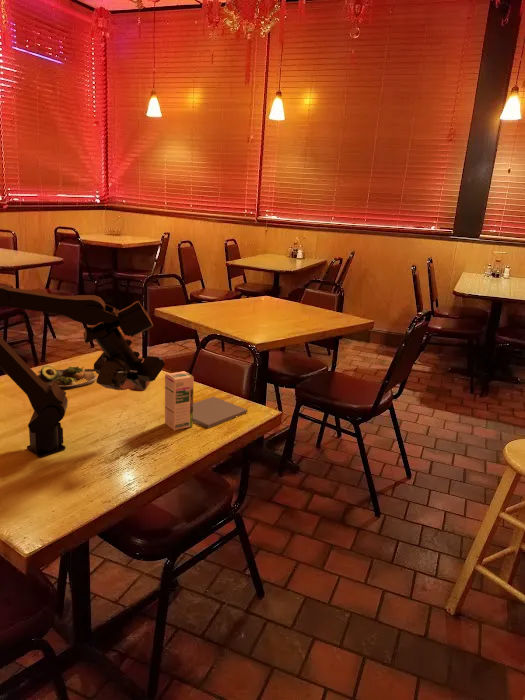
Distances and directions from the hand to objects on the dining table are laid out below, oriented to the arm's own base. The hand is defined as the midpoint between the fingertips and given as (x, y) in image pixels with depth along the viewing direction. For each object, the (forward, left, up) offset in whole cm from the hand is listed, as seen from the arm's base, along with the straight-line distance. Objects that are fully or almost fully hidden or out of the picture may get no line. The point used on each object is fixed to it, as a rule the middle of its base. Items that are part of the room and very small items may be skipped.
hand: (143, 387), depth 129 cm
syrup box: (+10, -2, -13) cm, 16 cm away
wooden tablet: (+26, +36, -13) cm, 47 cm away
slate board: (+22, -2, -13) cm, 26 cm away
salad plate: (+6, +48, -13) cm, 50 cm away
